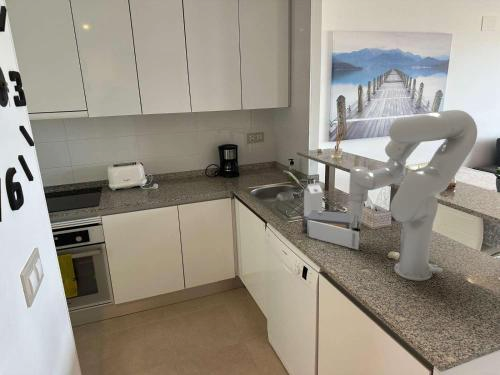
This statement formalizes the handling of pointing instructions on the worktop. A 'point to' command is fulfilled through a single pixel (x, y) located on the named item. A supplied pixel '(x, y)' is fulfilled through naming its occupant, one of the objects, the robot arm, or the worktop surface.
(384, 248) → the worktop surface
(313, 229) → the side door
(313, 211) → the cabinet with open door
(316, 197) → the milk carton
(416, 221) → the robot arm
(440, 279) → the worktop surface
